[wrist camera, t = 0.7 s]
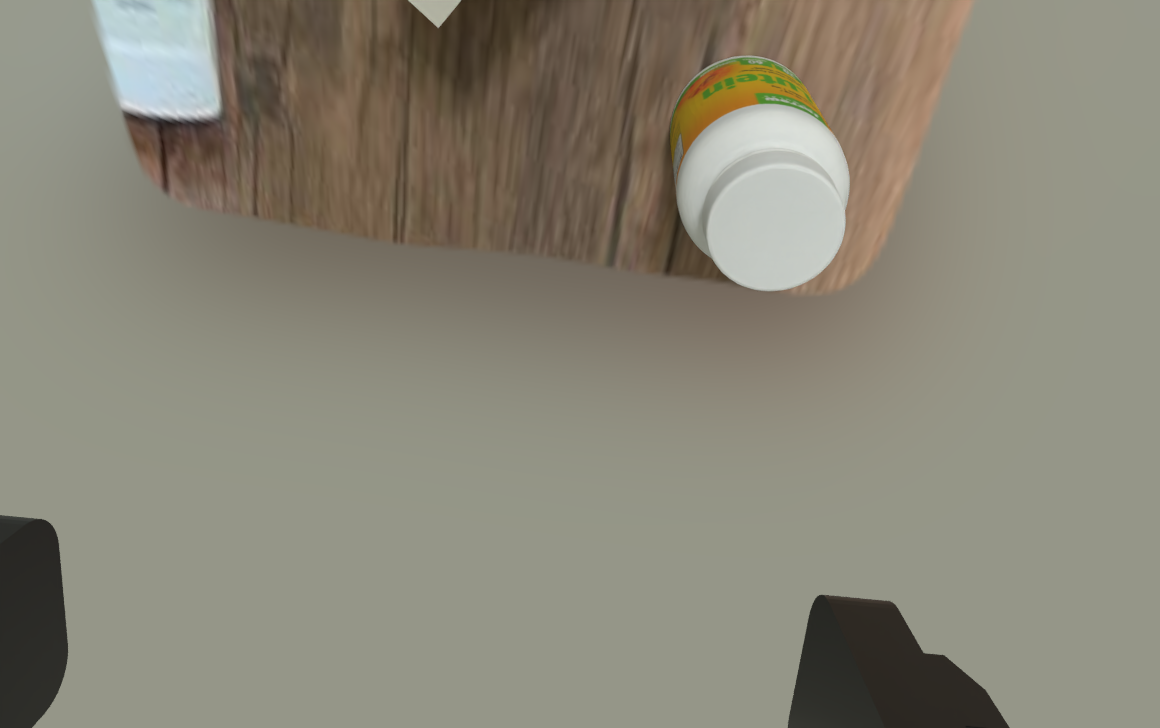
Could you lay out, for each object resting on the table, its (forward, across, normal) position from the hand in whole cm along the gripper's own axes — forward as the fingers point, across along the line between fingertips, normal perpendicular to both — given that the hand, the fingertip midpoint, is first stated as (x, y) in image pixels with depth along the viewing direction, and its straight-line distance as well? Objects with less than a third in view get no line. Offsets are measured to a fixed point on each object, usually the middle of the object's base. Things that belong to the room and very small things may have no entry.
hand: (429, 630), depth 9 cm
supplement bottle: (+27, -7, -5) cm, 28 cm away
